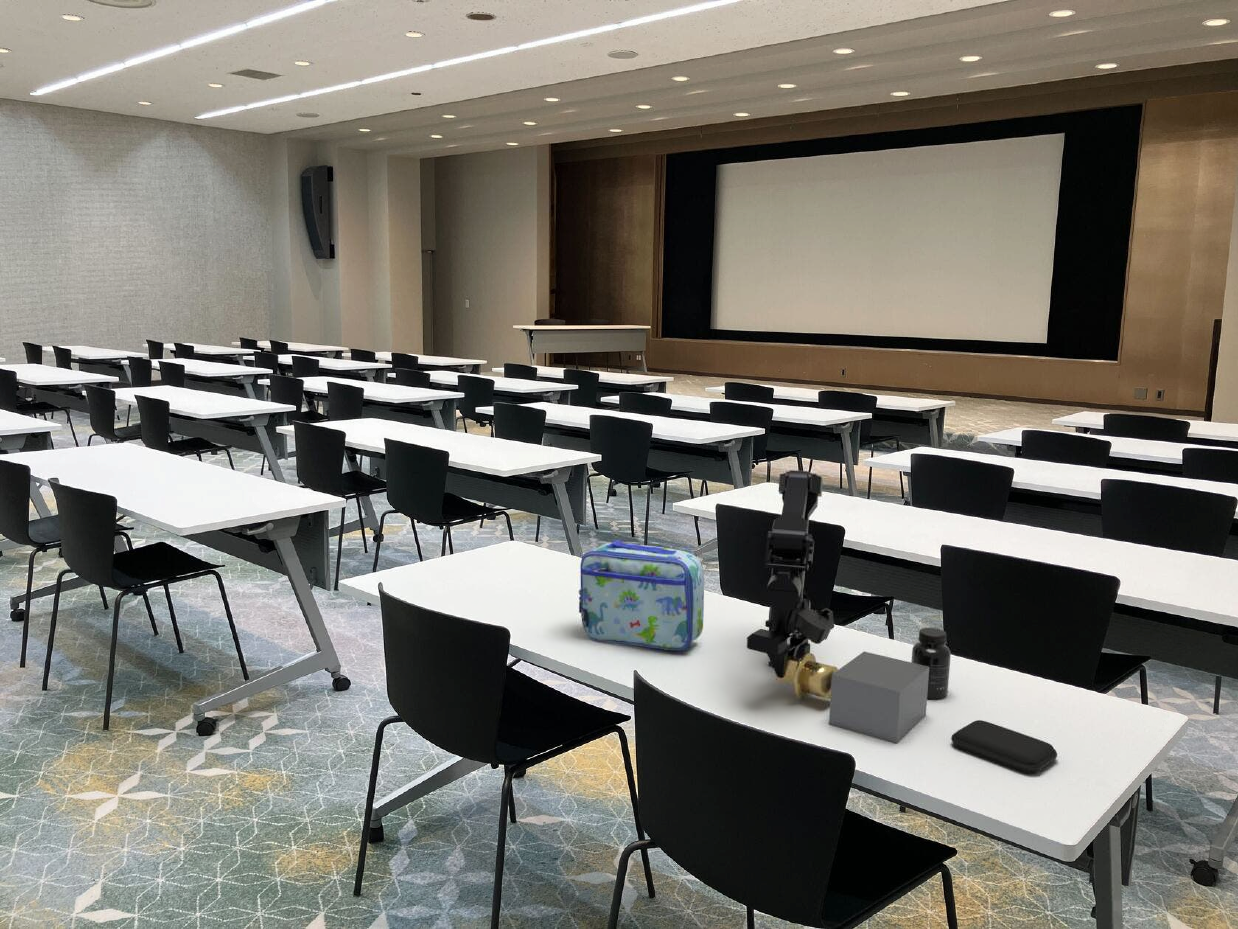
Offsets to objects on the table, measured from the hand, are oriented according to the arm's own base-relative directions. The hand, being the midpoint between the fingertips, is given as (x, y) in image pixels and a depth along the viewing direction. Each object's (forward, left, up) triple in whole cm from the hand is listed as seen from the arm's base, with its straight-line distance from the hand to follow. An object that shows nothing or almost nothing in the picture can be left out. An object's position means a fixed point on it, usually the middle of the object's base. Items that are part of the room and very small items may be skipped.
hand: (783, 675), depth 181 cm
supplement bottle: (+21, +17, -4) cm, 28 cm away
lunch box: (-37, +6, -4) cm, 37 cm away
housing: (+18, 0, -4) cm, 19 cm away
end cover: (+4, 0, -3) cm, 5 cm away
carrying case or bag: (+39, +1, -4) cm, 40 cm away
